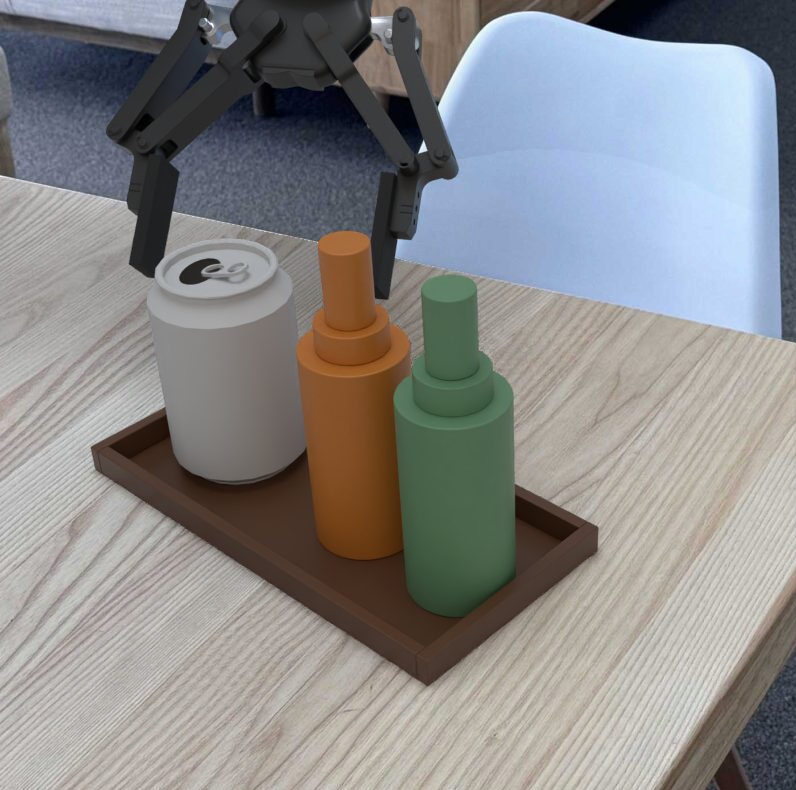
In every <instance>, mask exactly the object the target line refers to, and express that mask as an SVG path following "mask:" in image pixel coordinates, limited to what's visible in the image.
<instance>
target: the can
mask: <svg viewBox="0 0 796 790" xmlns="http://www.w3.org/2000/svg"><path fill="white" fill-rule="evenodd" d="M278 259H279V258H278V256H277V255H276V254H275V252H274V251H273V250H272V249H271V248H269V247H267V246H265V245H263V244H262V243H259V242H257V241H252V240H248V239H244V238H230V237H229V238H227V237H225V238H213V239H205V240H201V241H196V242H193V243H189V244H187V245H184V246H182V247H179V248H176V249H174V250H173V251H172V252H170V253H168V254H167V255H165V256H164V258H163V259H162V260H161V262H160V263H159V264H158V266H157V267H156V269H155V278H154V280H155V282H154V283H153V285H152V286H151V287H150V289H149V290H148V292H147V297H146V308H147V315H148V320H149V325H150V331H151V337H152V343H153V347H154V353H155V359H156V364H157V369H158V374H159V375H158V376H159V380H160V385H161V392H162V396H163V402H164V407H165V408H166V414H167V419H168V425H169V430H170V436H171V441H172V447H173V452H174V455H175V456H176V458H177V460H178V462H179V464H180V465H181V466H183V467H184V468H185V469H187V470H188V471H190V472H191V473H193V474H196V475H199V476H202V477H203V478H204V479H207V480H210V481H213V482H216V483H219V484H231V485H239V484H249V483H255V482H258V481H261V480H265V479H268V478H270V477H272V476H274V475H276V474H278V473H280V472H281V471H283V470H284V469H285V468H286V467H287V466H288V465H289V464H291V463H292V462H293V461H294V460H295V459H296V458H298V457H299V456H300V455H301V454H302V453H303V452H304V450H305V448H306V437H305V429H304V420H303V411H302V402H301V394H300V385H299V376H298V368H297V359H296V348H297V345H298V343H299V341H300V338H299V337H300V336H299V329H298V318H297V311H296V302H295V301H296V300H295V293H294V285H293V284H294V283H293V280H292V278H291V276H290V275H289V274H288V273H287V271H286V270H285V269H283V268H282V267H280V266H279V260H278Z"/></svg>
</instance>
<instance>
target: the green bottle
mask: <svg viewBox="0 0 796 790" xmlns="http://www.w3.org/2000/svg"><path fill="white" fill-rule="evenodd" d="M420 300H421V319H422V335H423V338H422V340H423V352H422V353H421V354H419V355H418V356H417V357H416V358H415V359H414V361H413V363H412V364H411V367H412V374H411V375H409V376H408V377H406V378H405V379H404V380H403V381H402V382H401V383H400V384H399V385H398V387H397V388H396V390H395V393H394V397H393V404H394V418H395V432H396V446H397V460H398V474H399V488H400V502H401V517H402V531H403V545H404V559H405V573H406V585H407V590H408V592H409V594H410V596H411V598H412V599H413V600H414V601H415V602H416V603H417V604H418V605H419V606H420V607H422V608H423V609H425V610H427V611H429V612H431V613H434V614H437V615H441V616H446V617H454V618H464V617H466V616H467V615H468V614H469V613H471V612H472V611H473V610H475V609H476V608H477V607H478V606H480V605H481V604H482V603H484V602H485V601H486V600H487V599H489V598H490V597H491V596H493V595H494V594H495V593H497V592H498V591H499V590H500V589H502V588H503V587H504V586H506V585H507V584H508V583H509V582H511V581H512V580H513V579H515V578H516V544H515V484H516V483H515V481H516V480H515V479H516V478H515V475H516V473H515V407H514V406H515V405H514V404H515V401H514V395H515V393H514V390H513V387H512V385H511V384H510V382H509V381H508V380H507V379H506V378H505V377H504V376H503V375H501V374H500V373H498V372H497V371H494V365H493V362H492V359H491V358H490V357H489V355H487V354H486V353H484V352H483V351H481V350H480V344H479V343H480V340H479V308H478V307H479V306H478V304H479V303H478V286H477V284H476V282H475V281H474V280H473V279H471V278H470V277H468V276H465V275H460V274H441V275H436V276H433V277H431V278H429V279H427V280H426V281H424V283H423V284H422V285H421V287H420Z"/></svg>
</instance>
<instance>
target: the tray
mask: <svg viewBox="0 0 796 790" xmlns="http://www.w3.org/2000/svg"><path fill="white" fill-rule="evenodd" d="M89 448H90V453H91V456H92V462H93V465H94V469H95V471H97V472H98V473H100V474H102V475H103V476H105V477H106V478H108V479H109V480H110V481H112V482H114V483H115V484H117V485H119V486H120V487H121V488H123V489H125V490H126V491H128V492H129V493H131V494H132V495H134V496H136V497H137V498H138V499H139V500H141V501H143V502H145V503H146V504H147V505H149V506H151V508H154V509H155V510H157V511H159V512H160V513H161V514H163V515H164V516H166V517H168V518H169V519H170V520H172V521H173V522H175V523H177V524H178V525H180V526H182V528H184V529H186V530H187V531H189V532H191V533H192V534H193V535H195V536H197V537H198V538H199V539H201V540H203V541H204V542H206V543H207V544H209V545H211V546H212V547H214V548H215V549H216V550H218V551H220V552H221V553H223V554H225V556H227V557H229V558H230V559H232V560H233V561H235V562H237V563H238V564H240V565H241V566H243V568H246V569H247V570H249V571H250V572H252V573H253V574H255V575H256V576H258V577H259V578H261V579H263V580H264V581H266V582H267V583H268V584H270V585H272V586H273V587H275V588H276V589H278V590H280V592H282V593H284V594H285V595H287V596H288V597H290V598H292V600H295V601H296V602H297V603H299V604H301V605H303V606H304V607H306V608H307V609H309V610H310V611H312V612H313V613H315V614H316V615H318V616H319V617H321V618H322V619H324V620H325V621H327V622H328V623H331V625H333V626H335V627H336V628H338V629H339V630H341V631H342V632H344V633H346V634H347V635H348V636H350V637H351V638H352V639H355V640H356V641H358V642H359V643H360V644H362V645H364V646H365V647H367V648H368V649H370V650H371V651H373V652H374V653H376V654H378V655H379V656H381V657H382V658H383V659H385V660H386V661H389V662H390V663H392V664H393V665H394V666H396V667H398V668H399V669H401V670H402V671H404V672H405V673H407V674H408V675H410V676H411V677H414V678H415V679H416V680H417V681H419V682H421V683H422V684H424V685H425V686H427V687H429V686H431V685H433V683H435V682H436V681H437V680H438V679H440V678H441V677H442V676H444V675H445V674H446V673H448V671H450V670H451V669H452V668H453V667H454V666H456V665H457V664H458V663H460V662H461V661H462V660H463V659H464V658H466V657H467V656H468V655H470V654H471V653H472V652H473V651H475V650H476V649H477V648H479V647H480V646H481V645H482V644H483V643H484V642H486V641H487V640H488V639H490V638H491V637H492V636H493V635H495V634H496V633H497V632H498V631H500V630H501V629H502V628H503V627H505V626H506V625H507V624H508V623H510V621H512V620H513V619H515V618H516V617H517V616H518V615H519V614H521V613H523V611H525V610H526V609H527V608H528V607H529V606H531V605H532V604H533V603H534V602H535V601H537V600H538V599H539V598H540V597H542V596H543V595H544V594H546V593H547V592H548V591H549V590H550V589H552V588H553V587H554V586H556V585H557V584H558V583H560V582H561V581H562V580H563V579H564V578H566V577H567V576H568V575H569V574H571V573H572V572H573V571H575V570H576V569H577V568H578V567H579V566H581V565H582V564H583V563H584V562H586V561H587V560H588V559H589V558H591V557H592V556H593V555H594V554H596V553H597V552H598V549H599V526H597V525H596V524H594V523H592V522H590V521H587V520H586V519H584V518H582V517H580V516H579V515H576V514H574V513H573V512H570V511H569V510H567V509H565V508H563V507H561V506H559V505H557V504H555V503H553V502H551V501H549V500H547V499H546V498H544V497H541V496H539V494H536V493H534V492H532V491H530V490H529V489H526V488H524V487H523V486H520V485H518V484H516V483H515V544H516V578H515V579H513V580H512V581H511V582H509V583H508V584H507V585H506V586H504V587H503V588H502V589H500V590H499V591H498V592H497V593H495V594H494V595H493V596H491V597H490V598H489V599H487V600H486V601H485V602H484V603H482V604H481V605H480V606H478V607H477V608H476V609H475V610H473V611H472V612H471V613H469V614H468V615H467V616H466V617H464V618H454V617H446V616H441V615H437V614H434V613H431V612H429V611H427V610H425V609H423V608H422V607H420V606H419V605H418V604H417V603H416V602H415V601H414V600H413V599H412V598H411V596H410V594H409V592H408V590H407V585H406V573H405V559H404V549H403V550H402V551H400V552H398V553H396V554H393V555H391V556H388V557H384V558H380V559H373V560H354V559H348V558H344V557H341V556H338V555H336V554H334V553H332V552H330V551H329V550H327V549H326V548H325V547H324V546H323V545H322V544H321V542H320V541H319V539H318V537H317V533H316V524H315V516H314V507H313V498H312V490H311V481H310V472H309V463H308V455H307V446H306V448H305V450H304V452H303V453H302V454H301V455H300V456H299V457H298V458H296V459H295V460H294V461H293V462H292V463H291V464H289V465H288V466H287V467H286V468H285V469H284V470H283V471H281V472H280V473H278V474H276V475H274V476H272V477H270V478H268V479H265V480H261V481H258V482H255V483H249V484H239V485H231V484H219V483H216V482H213V481H210V480H207V479H204V478H203V477H202V476H199V475H196V474H193V473H191V472H190V471H188V470H187V469H185V468H184V467H183V466H181V465H180V464H179V462H178V460H177V458H176V456H175V455H174V452H173V447H172V441H171V436H170V430H169V425H168V419H167V414H166V408H165V406H164V407H162V408H160V409H158V410H156V411H154V412H152V413H151V414H149V415H147V416H145V417H143V418H141V419H140V420H137V421H135V422H134V423H132V424H130V425H128V426H126V427H125V428H122V429H121V430H119V431H117V432H115V433H114V434H111V435H109V436H108V437H106V438H104V439H102V440H100V441H98V442H96V443H95V444H92V445H91V446H90V447H89Z"/></svg>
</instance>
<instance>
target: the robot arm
mask: <svg viewBox="0 0 796 790" xmlns="http://www.w3.org/2000/svg"><path fill="white" fill-rule="evenodd" d="M373 3H374V0H238V1H237V2H236V3H235V4H234V6H233V7H228V6H227V7H226V6H220V5H215V4H210V3H208V2H207V1H206V0H185V2H184V5H183V8H182V10H181V14H180V18H179V21H178V24H177V28H176V30H175V31H174V32H173V33H172V35H171V37H170V38H169V39H168V41H167V42H166V43H165V44H164V46H163V47H162V49H161V50H160V52H159V53H158V54H157V56H156V57H155V59H154V60H153V61H152V63H151V64H150V65H149V67H148V68H147V69H146V71H145V73H144V74H143V75H142V77H140V79H139V81H138V83H137V84H136V85H135V87H133V90H131V92H130V93H129V95H128V96H127V98H126V99H125V100H124V102H123V103H122V105H121V106H120V107H119V109H118V110H117V112H116V113H115V114H114V116H113V117H112V119H111V120H110V121H109V123H108V124H107V126H106V128H105V134H106V136H107V138H108V139H110V140H111V141H112V142H113V143H114V144H115V145H116V146H118V148H119V149H121V150H122V151H123V152H124V153H125V154H126V155H128V156H133V164H132V169H131V174H130V179H129V185H128V190H127V195H126V201H125V202H126V207H127V210H128V211H130V212H131V213H132V214H134V215H135V216H136V222H135V227H134V233H133V238H132V243H131V249H130V254H129V259H128V265H129V266H130V267H132V268H133V269H135V270H136V271H138V272H139V273H140V274H141V275H143V276H144V277H146V278H147V279H155V269H156V267H157V266H158V264H159V263H160V262H161V260H162V259H163V258H164V257H165V254H166V249H167V244H168V243H167V242H168V237H169V231H170V227H171V221H172V215H173V211H174V205H175V199H176V194H177V188H178V183H179V178H180V171H179V170H178V169H177V168H176V167H175V166H174V165H173V164H172V163H171V161H173V160H174V159H175V158H176V157H177V156H178V155H180V153H182V152H183V151H184V150H185V149H186V148H187V147H188V146H189V145H190V144H191V143H192V142H194V140H196V139H197V138H198V137H199V136H200V135H201V134H202V133H204V132H205V131H206V130H207V129H209V127H210V126H211V125H213V123H214V122H216V121H217V120H218V119H219V118H220V117H221V116H222V115H223V114H224V113H225V112H227V111H228V110H229V109H230V108H231V107H232V106H233V105H235V103H237V102H238V101H239V100H240V99H241V98H242V97H243V96H245V95H247V96H248V95H251V94H252V93H254V92H255V91H257V90H258V89H259V88H260V87H261V86H262V85H263V84H264V83H266V84H269V85H270V87H271V88H273V89H291V88H295V87H301V88H304V89H306V90H309V91H317V92H324V91H325V88H327V87H331V86H332V85H333V84H335V83H336V82H338V83H339V85H340V86H341V87H342V89H343V91H344V92H345V93H346V95H347V97H348V98H349V100H350V101H351V103H352V104H353V105H354V107H355V108H356V110H357V112H358V113H359V114H360V116H361V118H362V119H363V120H364V122H365V123H366V125H367V127H368V128H369V130H371V132H372V134H373V135H374V137H375V138H376V140H377V141H378V143H379V144H380V146H381V147H382V149H383V150H384V152H385V154H387V156H388V158H389V159H390V161H391V162H392V165H394V167H395V168H396V170H397V172H396V173H395V172H389V171H381V172H380V178H379V184H378V189H377V190H378V191H377V198H376V203H375V210H374V216H373V222H372V229H371V236H370V242H371V254H372V267H373V280H374V294H375V300H382V301H383V300H385V301H389V299H390V293H391V287H392V279H393V273H394V266H395V260H396V254H397V249H398V248H397V247H398V240H403V241H412V240H413V239H414V237H415V235H416V233H417V229H418V223H419V222H418V221H419V214H420V208H421V203H422V198H423V197H422V195H423V192H424V189H425V187H426V186H427V185H428V184H430V183H431V182H433V181H436V180H441V179H443V180H446V181H450V180H453V179H454V178H456V177H457V176H458V174H459V172H460V169H459V168H460V167H459V164H458V161H457V158H456V155H455V152H454V149H453V147H452V144H451V142H450V139H449V136H448V133H447V130H446V127H445V125H444V124H445V123H444V121H443V119H442V116H441V114H440V113H441V112H440V110H439V108H438V105H437V102H436V98H435V96H434V93H433V91H432V88H431V85H430V82H429V79H428V76H427V74H426V71H425V67H424V65H423V63H422V57H423V31H422V29H421V27H420V24H419V22H418V19H417V17H416V16H415V13H414V12H413V10H412V9H411V8H410V7H409V6H400V7H398V8H396V9H394V11H393V13H392V15H379V16H377V15H376V16H372V7H373ZM228 32H233V34H234V36H235V38H236V39H235V40H234V41H233V42H232V43H231V44H230V45H228V47H226V48H225V49H224V50H223V51H222V52H220V54H219V55H218V57H217V60H216V63H215V65H213V67H211V68H210V69H209V70H207V72H206V73H205V74H203V76H201V78H199V79H198V80H197V81H196V82H195V83H194V84H193V85H191V86H190V87H189V88H188V89H187V90H186V88H187V87H188V85H189V84H190V83H191V81H192V80H193V79H194V77H195V76H196V74H197V73H198V72H199V70H200V69H201V67H202V65H203V64H204V63H205V61H206V59H208V57H209V55H210V53H211V50H212V49H213V48H212V47H213V45H214V46H218V45H220V44H221V43H222V41H223V40H222V39H223V36H225V34H227V33H228ZM375 41H380V42H381V45H382V47H383V48H384V51H385V52H386V53H387V54H388V56H391V57H394V59H395V62H396V65H397V68H398V70H399V74H400V77H401V79H402V82H403V85H404V88H405V91H406V94H407V97H408V99H409V102H410V105H411V108H412V111H413V114H414V117H415V120H416V123H417V125H418V128H419V131H420V133H421V137H422V139H423V142H424V146H425V148H426V151H422V152H419V153H414V151H413V150H412V149H411V147H410V146H409V144H408V143H407V142H406V140H405V138H404V137H403V136H402V134H401V132H400V131H399V130H398V128H397V127H396V125H395V123H394V122H393V120H392V119H391V118H390V116H389V115H388V113H387V111H386V110H385V109H384V107H383V106H382V105H381V103H380V101H379V100H378V98H377V97H376V95H375V94H374V92H373V91H372V90H371V88H370V87H369V85H368V83H367V82H366V80H365V79H364V78H363V76H362V75H361V73H360V72H359V70H358V69H357V67H356V65H355V63H356V62H357V61H358V60H359V58H361V56H363V54H364V53H365V52H366V51H367V50H368V49H369V48H370V47H371V46H372V45H373V43H374V42H375ZM248 62H249V65H247V66H246V68H243V67H244V66H245V65H246V63H248ZM185 90H186V91H185ZM184 91H185V92H184ZM183 92H184V93H183Z"/></svg>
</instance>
